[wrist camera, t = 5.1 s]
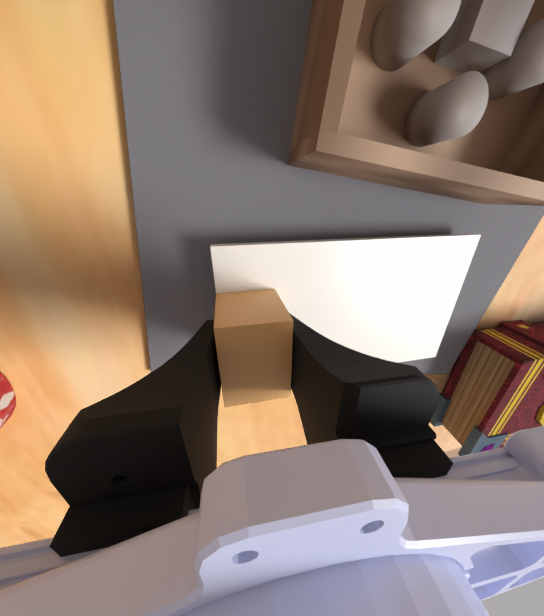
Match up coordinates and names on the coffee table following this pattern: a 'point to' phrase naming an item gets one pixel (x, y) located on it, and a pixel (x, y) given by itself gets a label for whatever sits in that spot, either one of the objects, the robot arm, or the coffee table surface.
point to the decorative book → (495, 387)
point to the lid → (331, 302)
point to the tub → (426, 97)
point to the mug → (6, 400)
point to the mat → (259, 166)
